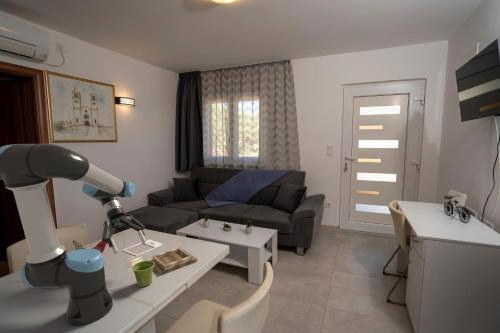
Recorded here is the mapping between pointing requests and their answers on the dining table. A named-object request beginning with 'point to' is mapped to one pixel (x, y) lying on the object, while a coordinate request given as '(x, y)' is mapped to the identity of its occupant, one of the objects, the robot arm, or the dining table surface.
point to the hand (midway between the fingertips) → (131, 247)
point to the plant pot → (143, 272)
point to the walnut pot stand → (172, 260)
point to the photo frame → (148, 242)
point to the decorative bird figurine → (100, 246)
